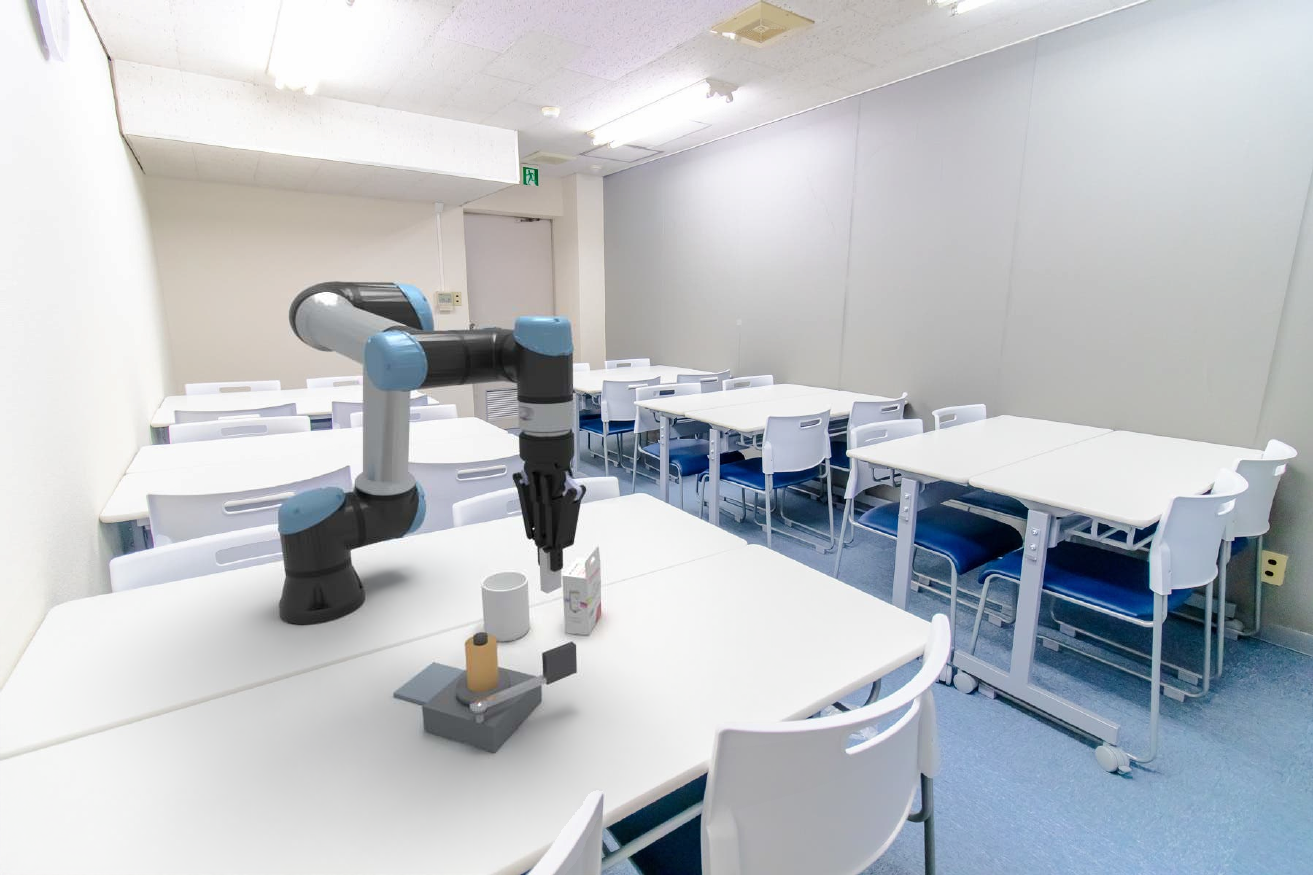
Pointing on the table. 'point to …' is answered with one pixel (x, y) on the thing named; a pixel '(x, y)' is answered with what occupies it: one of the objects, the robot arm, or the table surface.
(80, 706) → the table surface
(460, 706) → the socket block
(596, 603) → the ink cartridge box
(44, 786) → the table surface
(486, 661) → the plug
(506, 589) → the cup
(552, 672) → the grey lever
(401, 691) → the mat
